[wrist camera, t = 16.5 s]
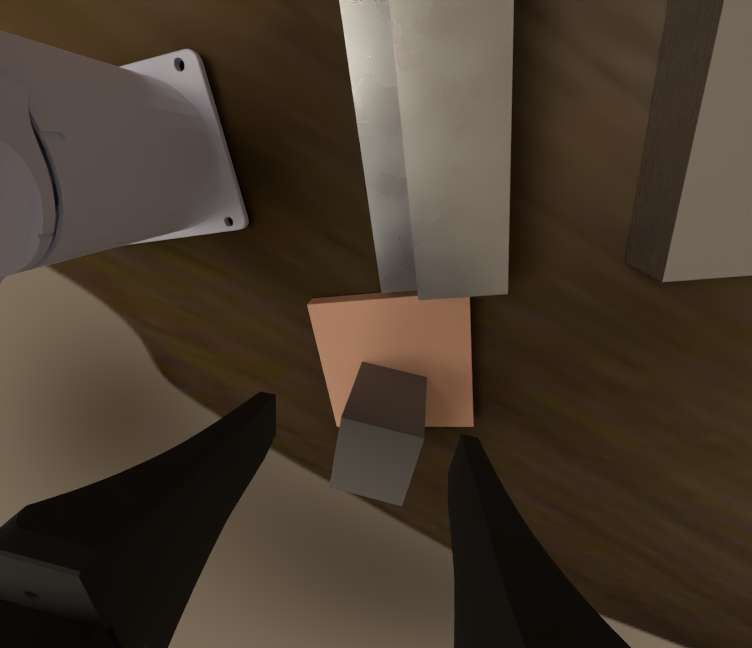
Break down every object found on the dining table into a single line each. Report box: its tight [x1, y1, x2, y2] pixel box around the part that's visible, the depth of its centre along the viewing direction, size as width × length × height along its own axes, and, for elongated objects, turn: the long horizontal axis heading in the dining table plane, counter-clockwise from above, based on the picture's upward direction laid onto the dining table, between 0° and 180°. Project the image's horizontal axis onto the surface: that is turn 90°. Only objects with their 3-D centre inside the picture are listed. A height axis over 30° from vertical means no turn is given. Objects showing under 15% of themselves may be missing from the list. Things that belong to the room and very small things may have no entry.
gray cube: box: [330, 362, 427, 506], centre depth 19 cm, size 4×5×5 cm
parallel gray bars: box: [339, 0, 752, 301], centre depth 13 cm, size 18×14×3 cm
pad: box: [307, 290, 474, 427], centre depth 20 cm, size 9×9×1 cm
